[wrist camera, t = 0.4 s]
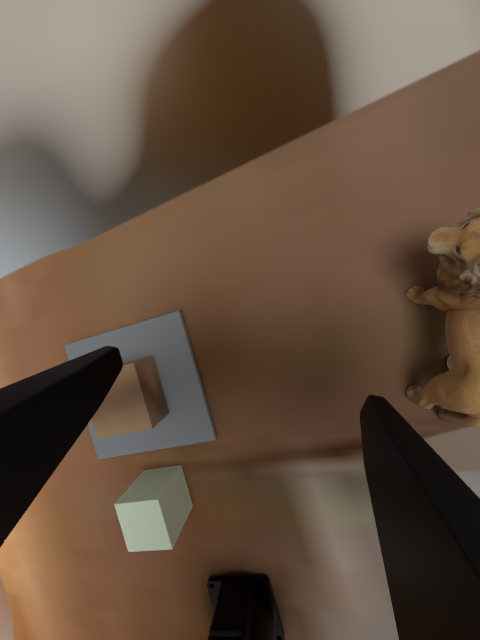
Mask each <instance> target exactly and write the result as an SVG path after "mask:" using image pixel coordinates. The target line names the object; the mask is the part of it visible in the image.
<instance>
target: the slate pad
mask: <svg viewBox="0 0 480 640" xmlns="http://www.w3.org/2000/svg"><path fill="white" fill-rule="evenodd" d="M104 346H113V347H117V348H118V349H119V351H120V354H121V358H122V361H123V363H126V362H129V361H133V360H137V359H141V358H145V357H148V356H152V355H153V357H154V361H155V364H156V367H157V371H158V374H159V378H160V381H161V385H162V388H163V392H164V395H165V399H166V402H167V406H168V409H169V414H168V415H167V416H166V417H165V418H164V419H163V420H161V421H160V422H159V423H158V424H157V425H156V426H155V427H154V428H153V429H148V430H142V431H137V432H132V433H126V434H121V435H115V436H110V437H104V438H99V439H97V436H96V433H95V430H94V426H93V423H92V419H91V420H90V422H89V423H88V426H89V430H90V433H91V437H92V440H93V443H94V447H95V450H96V453H97V457H98V459H103V458H110V457H116V456H122V455H128V454H134V453H141V452H147V451H153V450H159V449H165V448H172V447H178V446H184V445H190V444H196V443H203V442H209V441H215V440H216V439H217V434H216V431H215V427H214V424H213V420H212V417H211V413H210V410H209V406H208V403H207V399H206V396H205V392H204V389H203V385H202V382H201V378H200V375H199V371H198V368H197V364H196V360H195V357H194V353H193V350H192V346H191V343H190V339H189V336H188V332H187V329H186V325H185V322H184V318H183V315H182V311H176V312H173V313H170V314H166V315H163V316H160V317H156V318H153V319H150V320H146V321H143V322H140V323H136V324H133V325H130V326H126V327H123V328H120V329H116V330H113V331H110V332H106V333H103V334H100V335H96V336H93V337H90V338H87V339H83V340H80V341H77V342H73V343H70V344H67V345H65V348H66V352H67V355H68V359H69V361H70V360H72V359H75V358H77V357H80V356H82V355H85V354H87V353H90V352H92V351H94V350H97V349H99V348H102V347H104Z"/></svg>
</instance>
